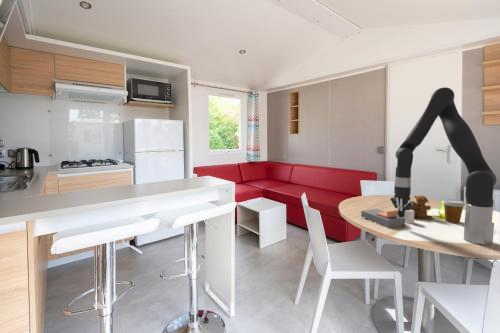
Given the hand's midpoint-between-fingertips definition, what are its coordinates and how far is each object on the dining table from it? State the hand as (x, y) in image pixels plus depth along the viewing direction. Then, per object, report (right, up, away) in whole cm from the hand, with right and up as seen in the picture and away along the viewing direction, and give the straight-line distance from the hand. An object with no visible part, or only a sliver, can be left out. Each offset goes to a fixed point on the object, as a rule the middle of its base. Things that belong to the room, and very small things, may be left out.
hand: (401, 216), depth 135 cm
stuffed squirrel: (+21, -4, +18) cm, 28 cm away
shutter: (-3, -1, +9) cm, 9 cm away
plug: (+10, -5, +10) cm, 15 cm away
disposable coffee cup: (+35, -5, +8) cm, 36 cm away
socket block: (-4, -5, +13) cm, 14 cm away
